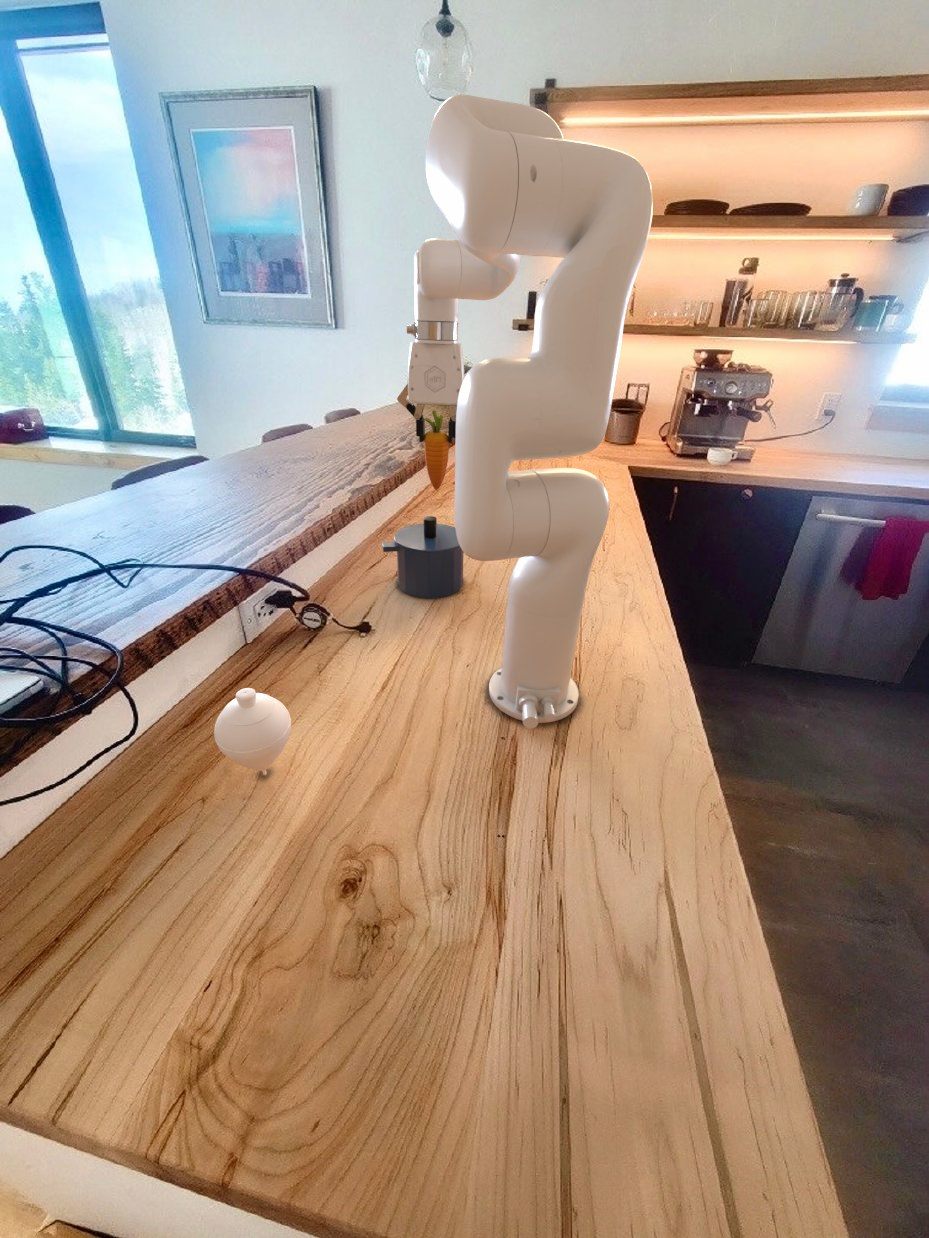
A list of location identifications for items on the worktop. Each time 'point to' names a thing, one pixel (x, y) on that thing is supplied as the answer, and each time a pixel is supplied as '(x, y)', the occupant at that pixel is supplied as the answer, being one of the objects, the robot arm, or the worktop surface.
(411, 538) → the pot lid
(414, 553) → the pot
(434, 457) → the carrot
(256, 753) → the spinning top
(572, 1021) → the worktop surface
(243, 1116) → the worktop surface
